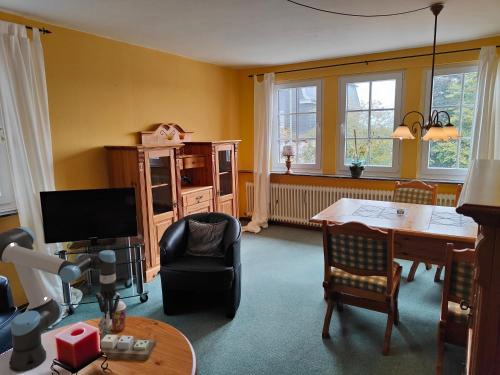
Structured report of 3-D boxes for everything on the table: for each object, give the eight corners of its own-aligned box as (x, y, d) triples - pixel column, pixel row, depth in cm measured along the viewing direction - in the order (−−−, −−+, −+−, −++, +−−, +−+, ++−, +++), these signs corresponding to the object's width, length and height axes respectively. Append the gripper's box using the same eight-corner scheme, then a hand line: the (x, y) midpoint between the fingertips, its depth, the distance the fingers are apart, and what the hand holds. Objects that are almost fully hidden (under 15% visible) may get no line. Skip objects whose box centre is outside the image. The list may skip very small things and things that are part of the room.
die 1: (101, 348, 173) (100, 340, 173) (106, 342, 179) (106, 334, 179) (112, 349, 173) (112, 341, 172) (117, 342, 179) (117, 334, 178)
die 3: (133, 354, 173) (133, 346, 172) (138, 347, 179) (138, 339, 178) (145, 355, 172) (145, 347, 172) (149, 348, 178) (149, 340, 178)
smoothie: (112, 326, 199) (112, 293, 196) (127, 325, 200) (127, 293, 198) (109, 334, 191) (108, 300, 188) (125, 332, 192) (124, 299, 189)
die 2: (117, 349, 173) (117, 341, 172) (122, 342, 179) (122, 335, 178) (128, 350, 173) (128, 342, 172) (133, 343, 178) (133, 335, 178)
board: (93, 356, 170) (92, 351, 170) (105, 341, 183) (105, 336, 183) (147, 360, 169) (147, 354, 168) (156, 344, 182) (156, 339, 181)
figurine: (99, 343, 181) (98, 317, 179) (96, 336, 188) (95, 311, 186) (115, 339, 186) (114, 313, 184) (112, 332, 192) (111, 307, 190)
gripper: (91, 283, 168) (93, 327, 171) (117, 284, 167) (118, 329, 171) (99, 277, 175) (100, 320, 179) (123, 278, 175) (124, 321, 178)
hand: (109, 324), depth 175 cm, fingers closed
